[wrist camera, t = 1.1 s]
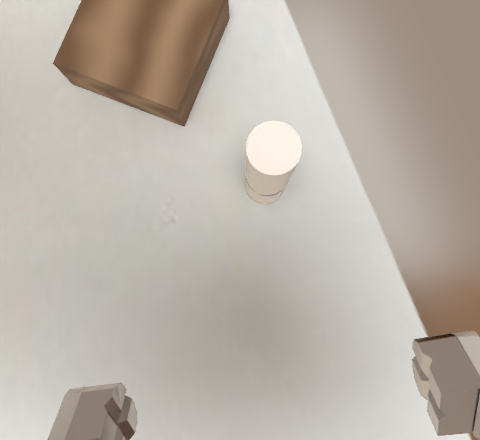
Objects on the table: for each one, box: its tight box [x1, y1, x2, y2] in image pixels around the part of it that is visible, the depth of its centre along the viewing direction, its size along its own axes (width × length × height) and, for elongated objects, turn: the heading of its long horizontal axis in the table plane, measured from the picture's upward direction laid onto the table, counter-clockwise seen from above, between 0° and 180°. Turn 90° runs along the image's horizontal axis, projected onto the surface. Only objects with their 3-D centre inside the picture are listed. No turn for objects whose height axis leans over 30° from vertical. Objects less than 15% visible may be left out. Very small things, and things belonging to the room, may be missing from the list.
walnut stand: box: [53, 0, 229, 126], centre depth 46 cm, size 14×14×5 cm
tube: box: [246, 121, 302, 204], centre depth 39 cm, size 4×4×15 cm
